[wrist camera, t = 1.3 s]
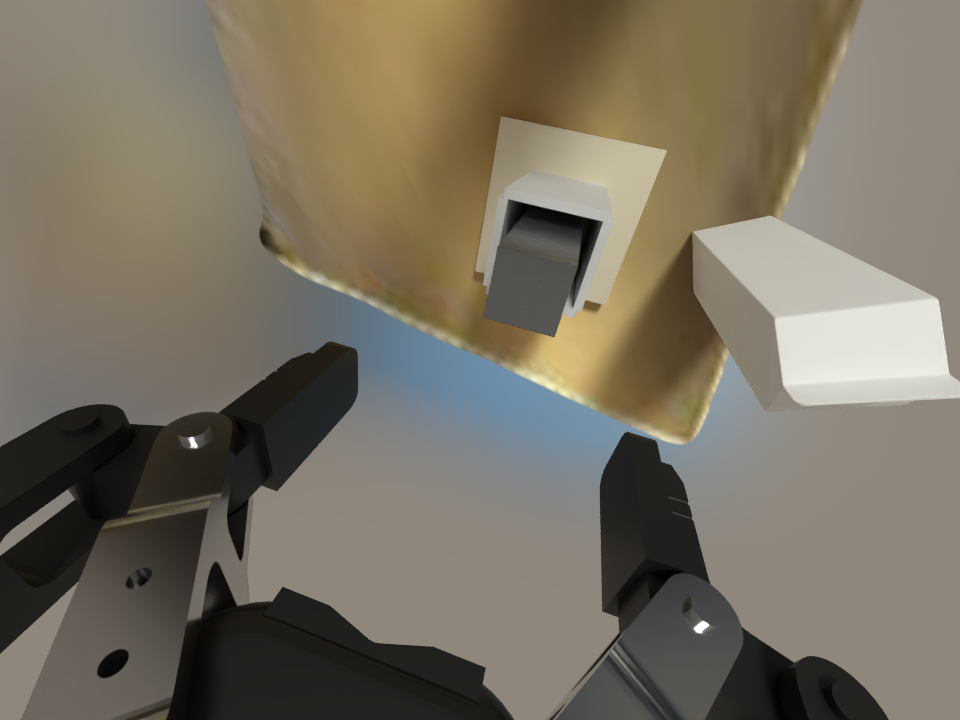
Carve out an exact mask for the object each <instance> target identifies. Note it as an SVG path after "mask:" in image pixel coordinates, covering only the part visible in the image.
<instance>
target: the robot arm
mask: <svg viewBox="0 0 960 720" xmlns="http://www.w3.org/2000/svg"><path fill="white" fill-rule="evenodd" d="M357 356H358V355H357V351H356V349H354V348H351V347H348V346H344V345H341V344H338V343H335V342H328V343H326V344H325V345H324V346H322V347H321V348H320V349H319V350H317V351H316V352H315V353H310V352H309V353H306V354H303V355H301V356H298V357H296V358H292V359H291V360H289V361H288V362H286V363H285V364H284V365H282V366H281V367H280V368H278V369H277V371H276V372H275V371H274V372H273V373H271V374H270V375H269V376H268V377H266V379H265V380H262V381H261V382H259V383H258V384H257V385H255V386H254V387H253V388H251V389H250V390H248V391H247V392H246V393H244V394H243V395H242V396H240V397H239V398H238V399H236V400H235V401H234V402H232V403H231V404H230V405H228V406H227V407H226V408H224V409H223V410H222V411H220V412H219V413H215V412H199V413H194V414H190V415H186V416H183V417H181V418H179V419H176V420H175V421H173V422H171V423H170V424H168V425H167V426H155V425H137V424H130V423H129V421H128V419H127V417H126V415H125V413H124V412H123V410H122V409H120V408H119V407H116V406H113V405H106V404H98V405H88V406H83V407H79V408H75V409H72V410H69V411H66V412H63V413H61V414H59V415H57V416H55V417H53V418H51V419H49V420H47V421H46V422H44V423H42V424H40V425H39V426H37V427H35V428H33V429H31V430H29V431H28V432H26V433H24V434H22V435H21V436H19V437H17V438H15V439H13V440H12V441H10V442H8V443H6V444H4V445H3V446H1V447H0V542H1V541H2V539H3V538H4V537H5V536H6V534H8V533H9V532H10V531H11V530H12V529H13V528H14V527H16V526H17V525H19V524H20V523H21V522H23V521H24V520H26V519H27V518H28V517H30V516H31V515H32V514H34V513H35V512H37V511H38V510H39V509H40V508H42V507H44V506H45V505H46V504H48V503H49V502H51V501H52V500H53V499H55V498H56V497H57V496H59V495H60V494H62V493H63V492H64V491H66V490H67V489H68V490H69V492H70V493H71V494H72V496H73V497H74V499H75V500H74V501H73V502H71V503H70V504H69V505H67V506H66V507H65V508H63V509H62V510H61V511H59V512H58V513H57V514H56V515H54V516H53V517H51V518H50V519H49V520H47V521H46V522H45V523H43V524H42V525H41V526H39V527H38V528H37V529H36V530H34V531H33V532H31V533H30V534H29V535H28V536H26V537H25V538H24V539H22V540H21V541H20V542H18V543H17V544H16V545H14V546H13V547H12V548H10V549H9V550H8V551H6V552H5V553H4V554H2V555H1V556H0V653H1V652H2V651H4V650H5V649H6V648H7V647H8V646H9V645H10V644H11V643H12V642H13V641H14V640H15V639H16V638H18V637H19V636H20V635H21V634H22V633H23V632H24V631H25V630H26V629H27V628H28V627H29V626H31V625H32V624H33V623H34V622H35V621H36V620H37V619H38V618H39V617H40V616H41V615H42V614H44V613H45V612H46V611H47V610H48V609H49V608H50V607H51V606H52V605H53V604H54V603H55V602H57V601H58V600H59V599H60V598H61V597H62V596H63V595H64V594H65V593H66V592H67V591H68V590H70V589H71V588H72V587H73V586H74V585H75V584H76V583H77V582H78V581H79V582H78V584H77V587H76V589H75V592H74V594H73V596H72V599H71V601H70V604H69V606H68V608H67V611H66V613H65V615H64V618H63V620H62V623H61V625H60V627H59V630H58V632H57V635H56V637H55V639H54V642H53V644H52V647H51V649H50V651H49V654H48V656H47V659H46V661H45V663H44V666H43V668H42V670H41V673H40V675H39V678H38V680H37V682H36V685H35V687H34V690H33V692H32V694H31V697H30V699H29V702H28V704H27V706H26V709H25V711H24V714H23V717H22V718H21V720H514V719H513V717H512V716H511V714H510V713H509V712H508V711H507V709H506V708H505V706H504V705H503V703H502V702H501V701H500V700H499V699H498V698H497V697H496V696H495V695H494V694H493V693H492V692H491V691H490V690H489V689H488V688H486V687H485V686H484V685H483V679H484V673H485V667H482V666H480V665H477V664H475V663H472V662H470V661H467V660H465V659H462V658H460V657H457V656H455V655H452V654H450V653H447V652H445V651H442V650H440V649H437V648H435V647H426V646H412V645H395V644H380V643H375V642H372V641H371V640H369V639H368V638H367V637H366V636H364V635H363V634H362V633H361V632H360V631H359V630H357V629H356V628H355V627H354V626H353V625H352V624H350V623H349V622H348V621H347V620H346V619H345V618H343V617H342V616H341V615H340V614H339V613H338V612H337V611H335V610H334V609H333V608H332V607H331V606H329V605H327V604H324V603H322V602H319V601H317V600H314V599H312V598H309V597H307V596H304V595H302V594H299V593H297V592H294V591H292V590H289V589H286V588H284V587H282V589H281V590H280V592H279V593H278V594H277V596H276V597H275V599H274V600H273V602H269V601H267V602H254V603H249V586H248V577H247V564H248V553H249V542H250V531H251V519H252V507H253V496H252V494H253V493H254V492H255V491H256V490H257V489H258V488H259V487H260V486H264V487H267V488H270V489H273V490H275V491H277V490H279V488H280V487H281V486H282V485H283V484H284V483H285V482H286V480H287V479H288V478H289V477H290V476H291V475H292V474H293V473H294V472H295V470H296V469H297V468H298V467H299V466H300V465H301V464H302V462H303V461H304V460H305V459H306V458H307V457H308V456H309V455H310V453H311V452H312V451H313V450H314V449H315V448H316V447H317V446H318V444H319V443H320V442H321V441H322V440H323V439H324V438H325V437H326V435H327V434H328V433H329V432H330V431H331V430H332V429H333V428H334V426H335V425H336V424H337V423H338V422H339V421H340V419H342V417H343V416H344V415H345V414H346V413H347V412H348V411H349V410H350V408H351V407H352V406H353V404H354V402H355V399H356V397H357V393H358V357H357ZM600 523H601V568H602V611H603V612H606V613H608V614H611V615H614V616H617V617H619V633H618V634H617V635H616V636H615V638H614V639H613V640H612V641H611V643H610V644H609V645H608V646H607V647H606V648H605V650H604V651H603V652H602V653H601V654H600V656H599V657H598V658H597V659H596V660H595V662H594V663H593V664H592V665H591V666H590V668H589V669H588V670H587V671H586V672H585V674H584V675H583V676H582V677H581V679H580V680H579V681H578V682H577V683H576V684H575V686H574V687H573V688H572V689H571V691H570V692H569V693H568V694H567V695H566V696H565V697H564V699H563V700H562V701H561V702H560V703H559V704H558V706H557V707H556V708H555V709H554V710H553V711H552V712H551V713H550V715H549V716H548V717H547V718H546V719H545V720H889V719H888V718H887V716H886V715H885V713H884V712H883V710H882V708H881V707H880V706H879V705H878V703H877V702H876V700H875V699H874V698H873V697H872V696H871V695H870V694H869V692H868V691H867V690H866V689H865V688H864V687H863V686H862V685H861V684H860V683H859V682H858V681H857V680H856V679H855V678H854V677H852V676H851V675H850V674H849V673H847V672H846V671H845V670H843V669H842V668H841V667H839V666H837V665H836V664H834V663H832V662H830V661H828V660H826V659H823V658H820V657H815V656H808V657H805V658H802V659H801V660H799V661H797V662H795V663H794V662H792V661H791V660H789V659H788V658H786V657H785V656H783V655H782V654H780V653H779V652H777V651H776V650H774V649H773V648H771V647H770V646H768V645H767V644H765V643H764V642H762V641H761V640H759V639H758V638H756V637H755V636H753V635H752V634H750V633H749V632H748V631H746V630H745V629H744V628H743V627H741V624H740V622H739V619H738V617H737V615H736V613H735V611H734V609H733V608H732V606H731V605H730V603H729V602H728V601H727V600H726V599H725V597H724V596H723V595H722V594H721V593H720V592H719V591H718V590H717V589H716V588H714V587H713V586H712V585H711V584H710V582H709V578H708V574H707V571H706V567H705V563H704V559H703V556H702V552H701V548H700V544H699V540H698V537H697V533H696V529H695V525H694V521H693V520H692V514H691V510H690V506H689V505H688V499H687V495H686V491H685V487H684V483H683V482H682V480H681V479H680V477H679V476H678V475H677V473H676V471H675V470H674V469H673V467H672V465H669V464H666V463H662V462H661V459H660V454H659V450H658V445H657V442H656V441H655V440H652V439H649V438H646V437H642V436H639V435H636V434H633V433H629V432H626V433H624V435H623V436H622V437H621V439H620V441H619V443H618V445H617V447H616V448H615V450H614V452H613V454H612V456H611V458H610V459H609V461H608V463H607V465H606V467H605V469H604V471H603V474H602V478H601V483H600Z"/></svg>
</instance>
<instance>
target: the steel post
mask: <svg viewBox="0 0 960 720" xmlns="http://www.w3.org/2000/svg"><path fill="white" fill-rule="evenodd" d="M584 218H585V217H582V216H578V215H574V214H569V213H565V212H561V211H557V210H552V209H548V208H544V207H540V206H535V205H531V206H530V208H529V209H528V210H527V211H526V212H525V214H524V215H523V216H522V217H521V219H520V220H519V221H518V222H517V223H516V225H515V226H514V227H513V228H512V229H511V231H510V232H509V233H508V234H507V236H506V237H505V238H504V239H503V240H502V242H501V243H500V244H499V245H498V247H497V252H496V257H495V262H494V267H493V272H492V277H491V283H490V288H489V293H488V298H487V303H486V308H485V313H484V318H487V319H490V320H494V321H498V322H501V323H505V324H508V325H512V326H516V327H519V328H523V329H526V330H530V331H534V332H537V333H541V334H544V335H548V336H551V337H555V334H556V331H557V328H558V325H559V322H560V319H561V316H562V313H563V310H564V307H565V304H566V301H567V298H568V295H569V292H570V289H571V286H572V283H573V280H574V277H575V274H576V271H577V268H578V261H579V253H580V245H581V236H582V228H583V221H584Z"/></svg>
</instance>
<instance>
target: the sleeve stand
mask: <svg viewBox="0 0 960 720" xmlns="http://www.w3.org/2000/svg"><path fill="white" fill-rule="evenodd" d="M666 152H667V151H666V150H662V149H657V148H653V147H648V146H643V145H638V144H633V143H629V142H624V141H619V140H614V139H609V138H604V137H600V136H595V135H590V134H585V133H580V132H576V131H571V130H566V129H561V128H556V127H551V126H547V125H542V124H537V123H532V122H527V121H523V120H518V119H513V118H508V117H503V116H501V120H500V126H499V132H498V138H497V144H496V150H495V156H494V162H493V167H492V173H491V179H490V185H489V191H488V197H487V203H486V209H485V215H484V221H483V227H482V233H481V239H480V245H479V251H478V257H477V263H476V269H475V271H477V272H481V273H485V275H484V281H483V286H487V287H486V292H485V294H487V295H488V293H489V288H490V283H491V277H492V272H493V267H494V262H495V257H496V252H497V247H498V245H499V244H500V243H501V242H502V240H503V239H504V238H505V237H506V236H507V234H508V233H509V232H510V231H511V229H512V228H513V227H514V226H515V225H516V223H517V222H518V221H519V220H520V219H521V217H522V216H523V215H524V214H525V212H526V211H527V210H528V209H529V208H530V206H531V205H535V206H540V207H544V208H548V209H552V210H557V211H561V212H565V213H569V214H574V215H578V216H582V217H585V218H584V221H583V228H582V236H581V245H580V253H579V261H578V268H577V271H576V274H575V277H574V280H573V283H572V286H571V289H570V292H569V295H568V298H567V301H566V304H565V307H564V310H563V313H562V315H565V316H569V317H572V318H575V315H576V312H577V311H582V308H583V306H584V303H585V300H587V301H591V302H595V303H599V304H602V305H605V304H606V302H607V299H608V297H609V294H610V292H611V289H612V287H613V284H614V282H615V279H616V277H617V274H618V272H619V269H620V267H621V264H622V262H623V259H624V257H625V254H626V252H627V249H628V247H629V244H630V242H631V239H632V237H633V234H634V232H635V229H636V227H637V224H638V222H639V219H640V217H641V214H642V212H643V209H644V207H645V204H646V202H647V199H648V197H649V194H650V192H651V189H652V187H653V184H654V182H655V179H656V177H657V174H658V172H659V169H660V167H661V164H662V162H663V159H664V157H665V154H666Z"/></svg>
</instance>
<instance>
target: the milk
mask: <svg viewBox="0 0 960 720" xmlns="http://www.w3.org/2000/svg"><path fill="white" fill-rule="evenodd" d="M692 248H693V292H694V294H695V296H696V297H697V299H698V301H699V302H700V304H701V306H702V307H703V309H704V311H705V312H706V314H707V316H708V317H709V319H710V320H711V322H712V324H713V325H714V327H715V329H716V330H717V332H718V334H719V335H720V337H721V339H722V340H723V342H724V344H725V345H726V347H727V349H728V350H729V352H730V354H731V355H732V357H733V358H734V360H735V362H736V363H737V365H738V367H739V368H740V370H741V372H742V373H743V375H744V377H745V378H746V380H747V382H748V383H749V385H750V386H751V388H752V390H753V392H754V393H755V395H756V397H757V398H758V400H759V401H760V403H761V405H762V406H763V408H764V410H765V411H766V412H772V411H773V412H774V411H794V410H814V409H834V408H855V407H876V406H896V405H906V404H908V403H909V402H911V401H912V400H930V399H948V398H960V382H959V381H958V380H956V379H955V378H953V377H952V376H951V375H950V374H949V370H948V362H947V355H946V348H945V341H944V334H943V327H942V321H941V313H940V307H939V302H938V299H937V298H935V297H934V296H931V295H930V294H927V293H925V292H923V291H921V290H919V289H917V288H915V287H913V286H911V285H909V284H907V283H905V282H903V281H901V280H899V279H897V278H895V277H893V276H891V275H889V274H887V273H885V272H883V271H881V270H879V269H877V268H875V267H873V266H871V265H869V264H867V263H865V262H863V261H861V260H859V259H857V258H855V257H853V256H851V255H849V254H846V253H844V252H843V251H841V250H839V249H836V248H834V247H832V246H830V245H828V244H826V243H824V242H822V241H820V240H818V239H816V238H814V237H812V236H810V235H808V234H806V233H804V232H802V231H800V230H798V229H796V228H794V227H792V226H790V225H788V224H786V223H784V222H782V221H780V220H778V219H776V218H774V217H772V216H766V217H762V218H757V219H752V220H747V221H742V222H737V223H733V224H728V225H723V226H718V227H713V228H708V229H704V230H699V231H694V232H692Z"/></svg>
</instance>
